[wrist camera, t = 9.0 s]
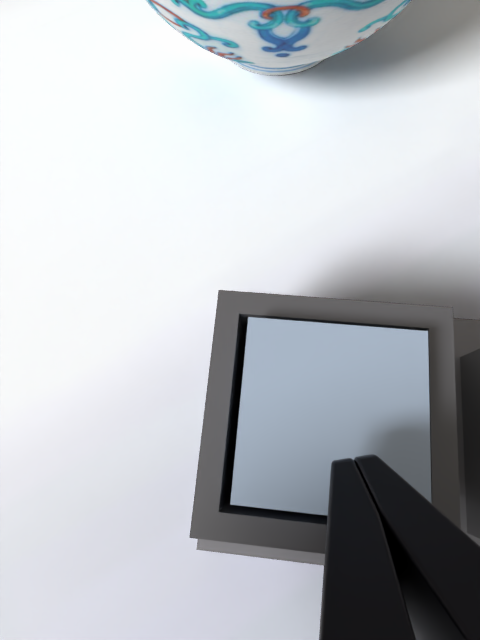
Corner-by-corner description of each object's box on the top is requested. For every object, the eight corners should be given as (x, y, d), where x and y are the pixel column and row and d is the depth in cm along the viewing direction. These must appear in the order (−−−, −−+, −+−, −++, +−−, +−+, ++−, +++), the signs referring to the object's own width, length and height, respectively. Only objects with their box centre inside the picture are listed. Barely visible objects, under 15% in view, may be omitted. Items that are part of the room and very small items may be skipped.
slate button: (373, 497, 14) (431, 527, 9) (242, 483, 14) (230, 504, 9) (374, 367, 15) (427, 331, 10) (253, 356, 15) (248, 317, 10)
